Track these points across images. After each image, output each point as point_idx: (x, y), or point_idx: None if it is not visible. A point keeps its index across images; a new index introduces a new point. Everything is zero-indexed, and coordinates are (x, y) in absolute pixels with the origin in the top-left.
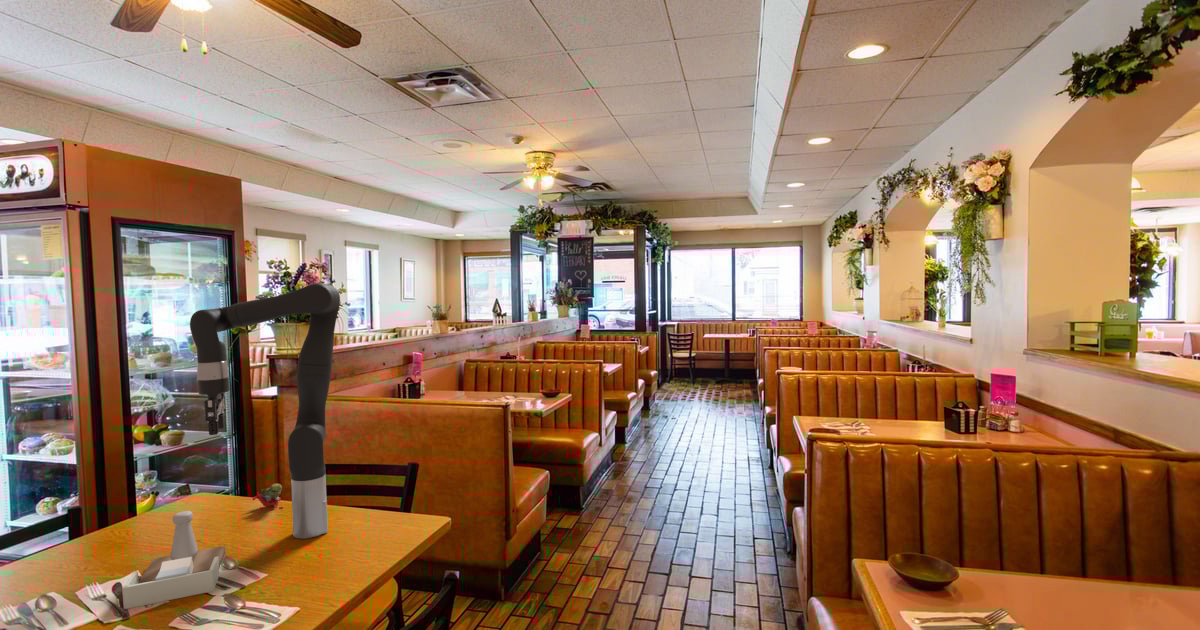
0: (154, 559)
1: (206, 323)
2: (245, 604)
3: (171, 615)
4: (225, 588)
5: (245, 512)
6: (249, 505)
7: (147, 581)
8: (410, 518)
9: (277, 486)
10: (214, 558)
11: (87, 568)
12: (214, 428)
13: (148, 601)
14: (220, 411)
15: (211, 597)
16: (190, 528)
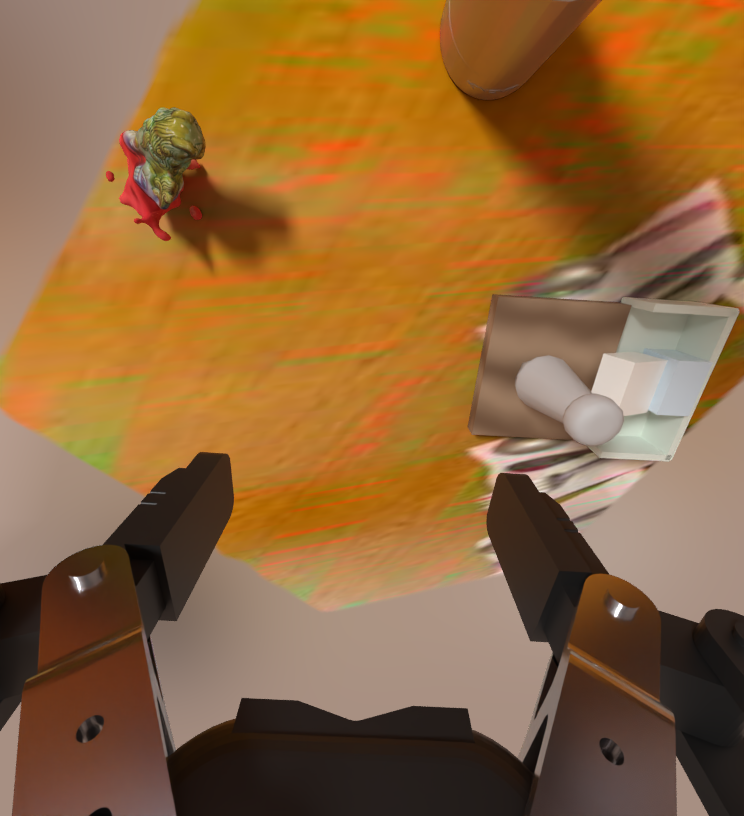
0: (479, 432)
1: None
2: None
3: (740, 364)
4: (705, 277)
5: (195, 263)
6: (130, 254)
7: None
8: None
9: (187, 126)
10: (662, 311)
11: (403, 522)
12: (570, 535)
13: None
14: (585, 698)
15: (726, 302)
16: (584, 389)
